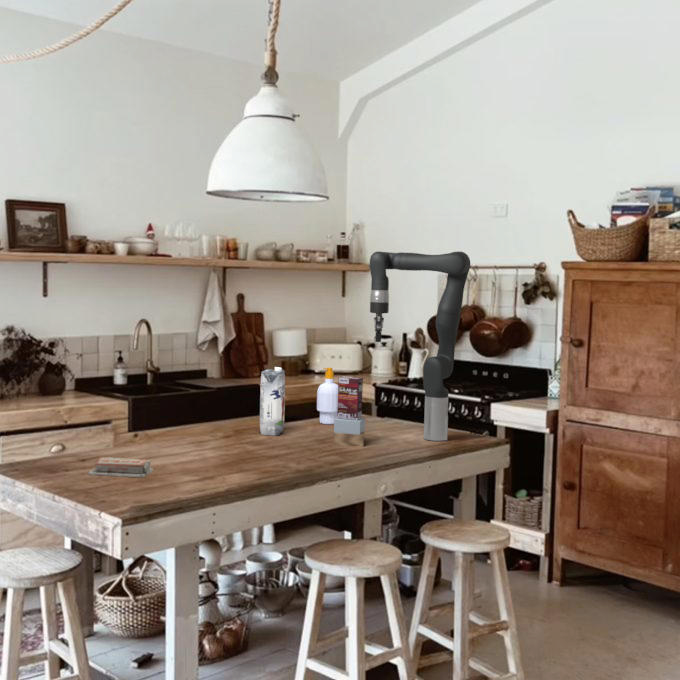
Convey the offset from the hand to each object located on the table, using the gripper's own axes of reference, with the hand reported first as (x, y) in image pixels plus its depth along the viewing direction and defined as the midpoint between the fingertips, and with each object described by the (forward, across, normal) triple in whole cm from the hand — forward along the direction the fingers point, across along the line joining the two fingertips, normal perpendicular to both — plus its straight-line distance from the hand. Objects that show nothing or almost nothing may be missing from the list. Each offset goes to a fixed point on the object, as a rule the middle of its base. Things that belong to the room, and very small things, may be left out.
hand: (378, 341), depth 356 cm
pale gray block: (+34, -22, +10) cm, 41 cm away
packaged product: (+39, -85, +79) cm, 122 cm away
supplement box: (+29, -22, +10) cm, 37 cm away
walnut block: (+38, -22, +10) cm, 45 cm away
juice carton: (+38, -8, +42) cm, 57 cm away
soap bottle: (+38, +22, +21) cm, 49 cm away
